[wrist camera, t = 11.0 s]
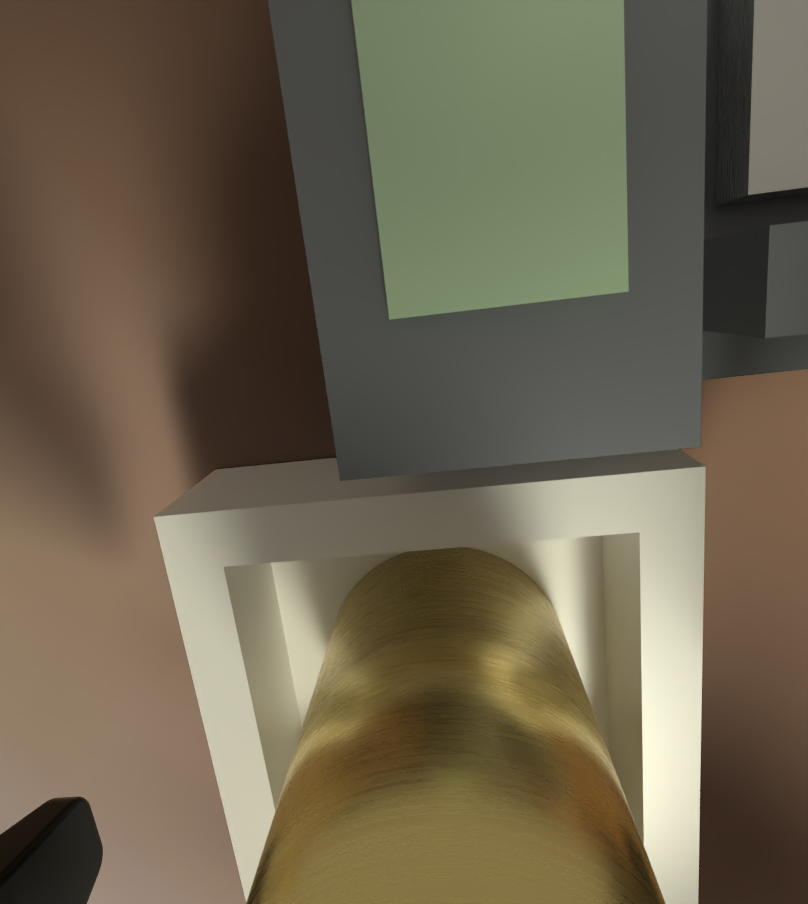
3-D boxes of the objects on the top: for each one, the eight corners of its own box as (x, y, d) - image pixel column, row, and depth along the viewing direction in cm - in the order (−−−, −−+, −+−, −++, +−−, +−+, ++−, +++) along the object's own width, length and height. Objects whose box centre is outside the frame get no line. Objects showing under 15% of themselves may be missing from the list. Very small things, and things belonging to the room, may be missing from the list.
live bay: (643, 427, 9) (705, 466, 7) (647, 789, 11) (697, 907, 9) (215, 469, 10) (153, 517, 8) (285, 806, 12) (250, 920, 9)
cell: (557, 535, 9) (999, 1408, 2) (568, 741, 10) (888, 1828, 3) (316, 555, 10) (-70, 1368, 2) (348, 753, 11) (155, 1755, 3)
